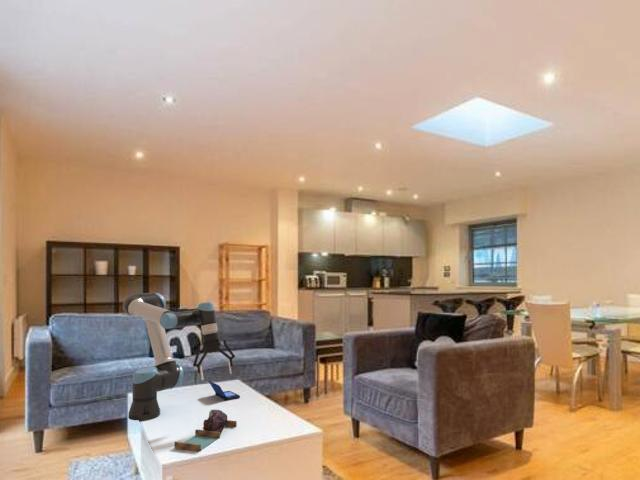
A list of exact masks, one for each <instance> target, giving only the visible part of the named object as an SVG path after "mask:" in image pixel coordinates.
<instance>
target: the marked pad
mask: <svg viewBox="0 0 640 480" xmlns="http://www.w3.org/2000/svg"><path fill="white" fill-rule="evenodd" d="M217 440H219V438H211V437H202V436H195V435H194V436H192V437H190V438H189V439H187V440H185V441H183V442H184V443H192V444H200V445H201V451H202V450H204V449H205V448H207V447H208V446H210V445H211V444H213V443H214V442H215V441H217Z"/></svg>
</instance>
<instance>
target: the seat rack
mask: <svg viewBox="0 0 640 480" xmlns="http://www.w3.org/2000/svg"><path fill="white" fill-rule="evenodd" d="M237 423H238V422H237V420H231V419H230V420H229V419H227V423H226V425H225V427H230V428H231V427H232V428H237V425H238V424H237ZM194 431H195V432H194V434H195V435H194V436H202V437H211V438H218V439H221V433H220V432H216V431H207V430H204V429H199V428H198V429H195V430H194ZM184 442H185V441H183V442H182V441H174V449H176V450H184V451H192V452H199V453H200V452H201V451H202V450H201V445H200V444H192V443H184Z"/></svg>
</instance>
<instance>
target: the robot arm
mask: <svg viewBox="0 0 640 480" xmlns="http://www.w3.org/2000/svg"><path fill="white" fill-rule="evenodd" d="M166 306H167V303H166V299H165V298H164V296H163V295H162V294H160V293H158V292H145V293H144V292H143V293H133V294H129V295H128V296H126V298H125V299H124V301H123V303H122V309H123V312H124V313H125V314H126V315H128V316H130V317H134V318H136V317H139V318H141V319H142V320H143V321H145V324H146V327H147V332H148V337H149V340H150V341H149V342H150V346H151V349H152V354H153V357H154V361H155V364H154V366H147V367H142V368H139V369H136V370H135V371H134V373H133V374H132V381H131V382H132V401H131V404H130V408H129V411H128V415H127V416H128V419H129V420H131V421H146V420H152V419H155V418H157V417H159V416H160V415H161V408H160V405H159V402H158V392H163V391H166V390H171V389H173V388H176V387H178V386H180V385H181V384H182V382H183V379H184V369H183V367H182V366H181V364H178V363H177V361H176V360H175V359H174V358H173V357H172V354H171V349H170V346H169V345H170V344H169V341H168V336H167V334H166V330H167V329H168V330H169V329H170V330H171V329H177V328H184V327H193V326H194V327H195V326H197V325H200V326H201V327H200V328H201V334H202V341H203V344H202V345H198V346H197V352H196V354H195V358H194V361H193V363H192V366H193V367H197V374H200V377H201V381H204V379H205V378H204V373H203V367H202V363H203V361H204V359H205V358H206V356H207V354H208V353H209V354H211V353H216V352H219V353H220V354H222V355H223V356H224V357H226V358H227V359H228V360H227V364H228V370H229V374H230V375H232V374H233V373H232V367H233V365H234V364H233V359H235V358H236V355H235V354H234V352H233V351H232V350H231V349H230V347H229V346H228V344H227V341H226V339H225V340H222V341H220V338H219V333H218V330H219V329H218V323H217V318H216V312H215V311H216V310H215V306H214V303H213V301H207V302H201V303H199V304H198V306H197V308H198V309H197V308H196V309H194V310H185V311H183V310H182V311H172V310H170V309H166ZM221 345H222V346H224V347H225V349H226V350H227V352H228V353H229V354H230V355H231V356H230V355H229V354H228V353H226V352H225V351H224V350H223V349H222V348H220V346H221ZM203 349H204V350H205V351H204V353H203V355H202V356H201V358H200V359H199V357H200V354H201V351H202V350H203ZM198 360H199V361H198ZM197 362H198V363H197Z"/></svg>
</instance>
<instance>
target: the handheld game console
mask: <svg viewBox="0 0 640 480" xmlns="http://www.w3.org/2000/svg"><path fill="white" fill-rule="evenodd" d="M208 383H209V384H210V387H211V388H212V390H213V391H214V392H215V393H214V395H215V396H217V397H219V398H221V399H222V400H224V401H225V402H227V401H231V400H237V399H240V397H241V396H240V394H237V393H235V392H233V391H231V390H227V391H223V389H222V387H221V386H220V385H219V384H217V383H215V382H212V381H210V380H209V381H208Z"/></svg>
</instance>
